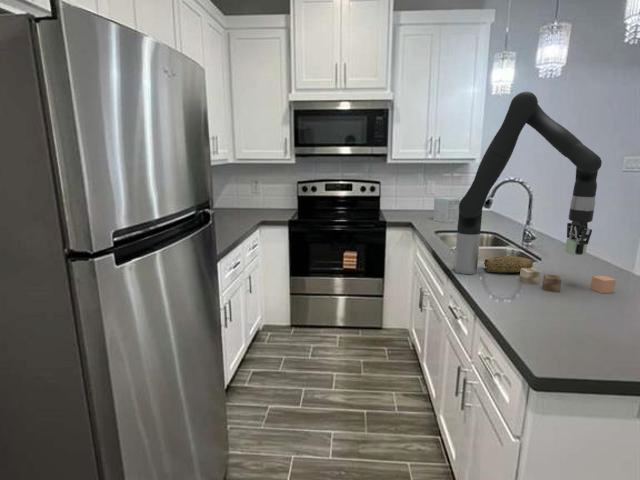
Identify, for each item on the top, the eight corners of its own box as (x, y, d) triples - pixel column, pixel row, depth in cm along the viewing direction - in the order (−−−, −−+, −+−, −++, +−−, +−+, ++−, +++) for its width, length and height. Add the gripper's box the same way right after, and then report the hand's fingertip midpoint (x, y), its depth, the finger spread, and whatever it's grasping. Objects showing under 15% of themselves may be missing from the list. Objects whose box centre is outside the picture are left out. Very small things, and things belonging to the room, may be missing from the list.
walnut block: (544, 290, 144) (545, 278, 142) (542, 286, 148) (544, 274, 147) (559, 292, 142) (561, 279, 140) (557, 288, 146) (559, 275, 145)
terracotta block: (602, 293, 140) (604, 280, 139) (590, 289, 145) (592, 276, 144) (613, 292, 141) (615, 279, 140) (601, 288, 146) (603, 275, 145)
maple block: (526, 284, 151) (527, 272, 150) (519, 280, 156) (520, 268, 154) (538, 284, 151) (540, 271, 150) (531, 279, 156) (532, 268, 155)
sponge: (488, 277, 163) (540, 271, 157) (485, 259, 163) (537, 252, 157) (484, 274, 175) (531, 267, 170) (481, 257, 175) (528, 250, 170)
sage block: (571, 254, 145) (573, 241, 144) (565, 251, 150) (566, 238, 149) (585, 255, 144) (587, 242, 143) (578, 251, 149) (580, 239, 148)
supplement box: (458, 221, 285) (460, 198, 281) (446, 223, 279) (448, 199, 275) (444, 219, 296) (446, 196, 293) (432, 220, 290) (434, 197, 286)
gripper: (562, 205, 151) (556, 247, 155) (580, 210, 137) (573, 256, 141) (583, 205, 150) (576, 248, 154) (603, 211, 136) (596, 257, 140)
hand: (575, 252), depth 147 cm, fingers closed on sage block, 5 cm apart
